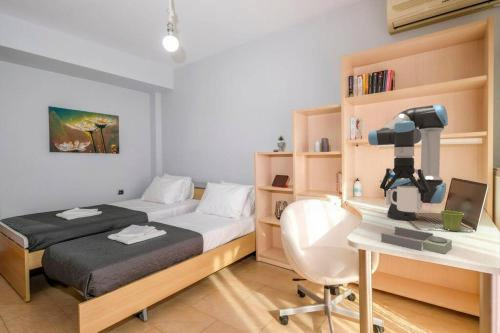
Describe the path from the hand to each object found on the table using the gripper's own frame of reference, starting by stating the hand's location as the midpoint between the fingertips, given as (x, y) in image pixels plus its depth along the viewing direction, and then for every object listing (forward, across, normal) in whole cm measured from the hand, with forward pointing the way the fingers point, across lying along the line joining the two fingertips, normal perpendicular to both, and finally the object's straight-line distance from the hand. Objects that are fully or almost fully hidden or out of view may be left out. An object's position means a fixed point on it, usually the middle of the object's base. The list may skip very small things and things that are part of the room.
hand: (403, 206), depth 113 cm
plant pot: (+15, +10, +35) cm, 40 cm away
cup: (+2, 0, 0) cm, 2 cm away
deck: (+15, +6, 0) cm, 16 cm away
